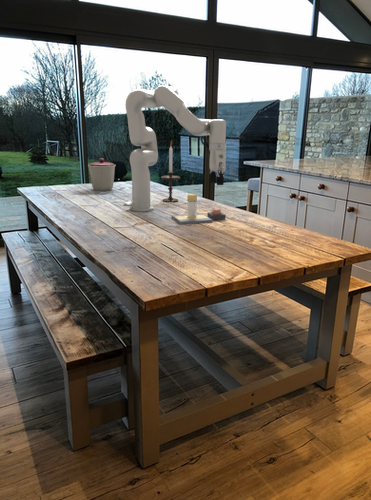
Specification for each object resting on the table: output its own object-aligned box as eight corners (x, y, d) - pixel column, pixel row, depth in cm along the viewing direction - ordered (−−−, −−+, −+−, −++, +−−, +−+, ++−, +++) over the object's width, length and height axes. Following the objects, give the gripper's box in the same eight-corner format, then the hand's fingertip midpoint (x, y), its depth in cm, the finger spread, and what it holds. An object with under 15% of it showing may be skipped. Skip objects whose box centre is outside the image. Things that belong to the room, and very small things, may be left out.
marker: (188, 218, 195) (189, 195, 192) (185, 216, 199) (186, 194, 196) (197, 218, 196) (198, 195, 193) (194, 216, 200) (195, 193, 197)
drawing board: (180, 224, 189) (180, 221, 189) (171, 217, 202) (171, 215, 201) (212, 222, 194) (212, 219, 194) (201, 215, 207) (201, 213, 206)
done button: (214, 216, 199) (214, 210, 198) (211, 214, 203) (211, 208, 202) (221, 216, 201) (222, 210, 200) (218, 214, 204) (218, 208, 203)
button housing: (212, 220, 198) (212, 215, 197) (207, 217, 204) (207, 212, 203) (225, 219, 200) (225, 214, 199) (219, 216, 206) (220, 211, 206)
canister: (90, 187, 284) (89, 156, 278) (117, 187, 286) (116, 157, 280) (87, 192, 267) (85, 159, 261) (115, 192, 269) (114, 159, 263)
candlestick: (176, 199, 250) (177, 139, 239) (181, 202, 240) (182, 140, 229) (159, 199, 246) (159, 139, 236) (164, 203, 236) (164, 140, 226)
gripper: (231, 147, 184) (230, 185, 189) (218, 146, 200) (217, 181, 205) (216, 148, 182) (215, 186, 187) (203, 146, 198) (203, 181, 203)
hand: (216, 183), depth 196 cm, fingers open, 9 cm apart
